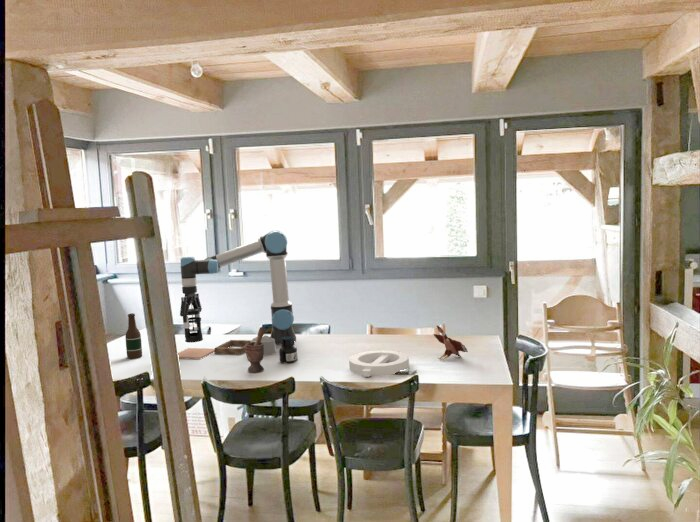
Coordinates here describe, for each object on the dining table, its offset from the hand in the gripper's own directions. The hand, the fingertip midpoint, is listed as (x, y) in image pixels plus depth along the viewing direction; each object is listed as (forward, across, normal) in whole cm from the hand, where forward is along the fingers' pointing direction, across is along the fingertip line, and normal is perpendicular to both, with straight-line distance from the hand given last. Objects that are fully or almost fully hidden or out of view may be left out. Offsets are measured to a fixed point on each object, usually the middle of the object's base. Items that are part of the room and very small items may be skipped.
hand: (192, 326), depth 306 cm
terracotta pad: (+16, 0, 0) cm, 16 cm away
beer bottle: (+16, +9, -31) cm, 36 cm away
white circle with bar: (+16, +13, +106) cm, 108 cm away
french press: (+8, -1, 0) cm, 8 cm away
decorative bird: (+15, -4, +137) cm, 138 cm away
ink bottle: (+16, +8, +58) cm, 61 cm away
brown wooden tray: (+16, -12, +19) cm, 27 cm away
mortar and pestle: (+16, +24, +48) cm, 56 cm away
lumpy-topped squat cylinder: (+16, -7, +38) cm, 42 cm away
